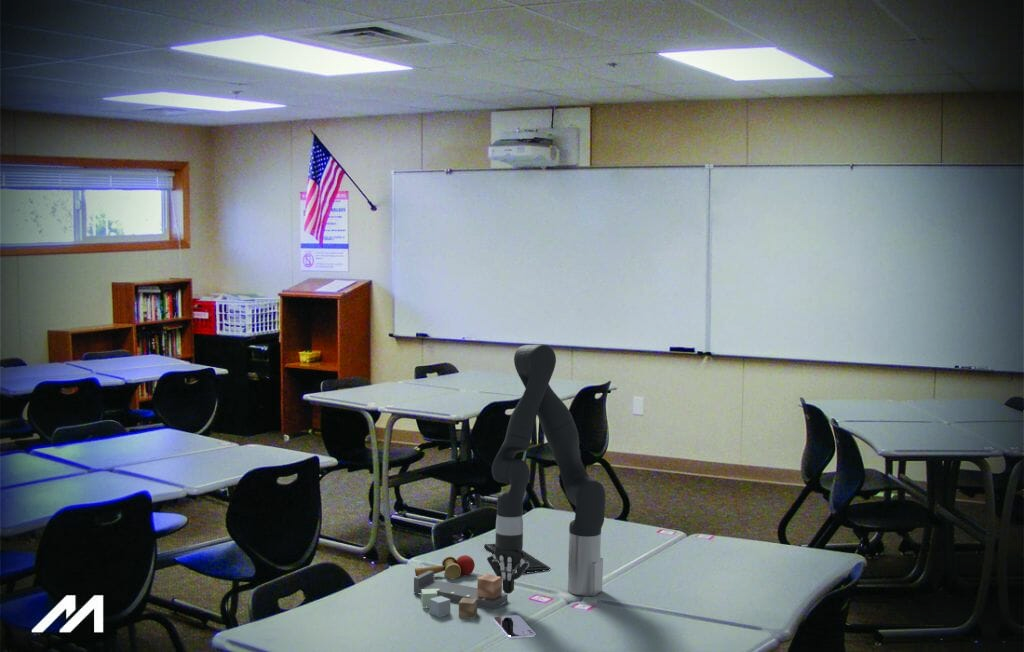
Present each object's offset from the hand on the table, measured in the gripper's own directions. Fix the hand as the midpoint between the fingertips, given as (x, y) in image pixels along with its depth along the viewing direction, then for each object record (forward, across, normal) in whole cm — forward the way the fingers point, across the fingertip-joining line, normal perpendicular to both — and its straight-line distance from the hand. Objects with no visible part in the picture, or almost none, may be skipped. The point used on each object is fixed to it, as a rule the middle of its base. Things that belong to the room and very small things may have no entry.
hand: (508, 592), depth 273 cm
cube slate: (+4, +14, +14) cm, 20 cm away
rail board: (+4, +15, 0) cm, 16 cm away
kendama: (+4, +29, -14) cm, 33 cm away
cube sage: (+4, +20, +10) cm, 22 cm away
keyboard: (+5, +18, -41) cm, 45 cm away
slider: (+2, +6, 0) cm, 6 cm away
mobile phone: (+5, -8, +13) cm, 16 cm away
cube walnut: (+4, +6, +11) cm, 13 cm away
